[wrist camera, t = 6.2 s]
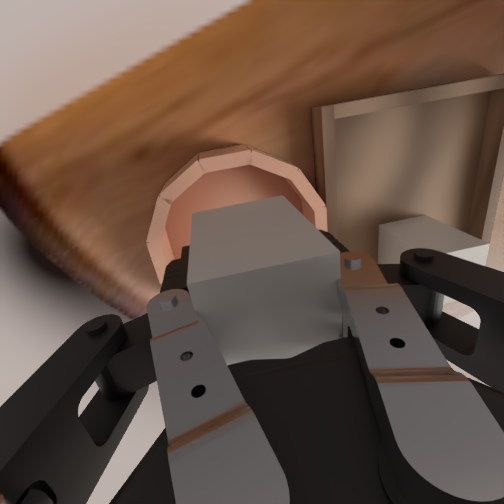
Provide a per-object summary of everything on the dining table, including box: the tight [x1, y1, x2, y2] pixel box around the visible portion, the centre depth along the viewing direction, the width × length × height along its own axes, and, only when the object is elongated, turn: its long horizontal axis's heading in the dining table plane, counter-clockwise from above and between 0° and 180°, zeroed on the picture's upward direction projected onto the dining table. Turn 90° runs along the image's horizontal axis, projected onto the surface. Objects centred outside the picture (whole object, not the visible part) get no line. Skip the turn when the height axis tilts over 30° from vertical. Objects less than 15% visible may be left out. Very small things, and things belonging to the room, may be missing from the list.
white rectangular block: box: [378, 215, 489, 304], centre depth 22 cm, size 4×4×6 cm
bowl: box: [146, 144, 328, 286], centre depth 21 cm, size 12×12×4 cm
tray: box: [311, 74, 504, 264], centre depth 23 cm, size 14×16×2 cm
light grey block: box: [187, 195, 342, 365], centre depth 11 cm, size 4×4×6 cm
